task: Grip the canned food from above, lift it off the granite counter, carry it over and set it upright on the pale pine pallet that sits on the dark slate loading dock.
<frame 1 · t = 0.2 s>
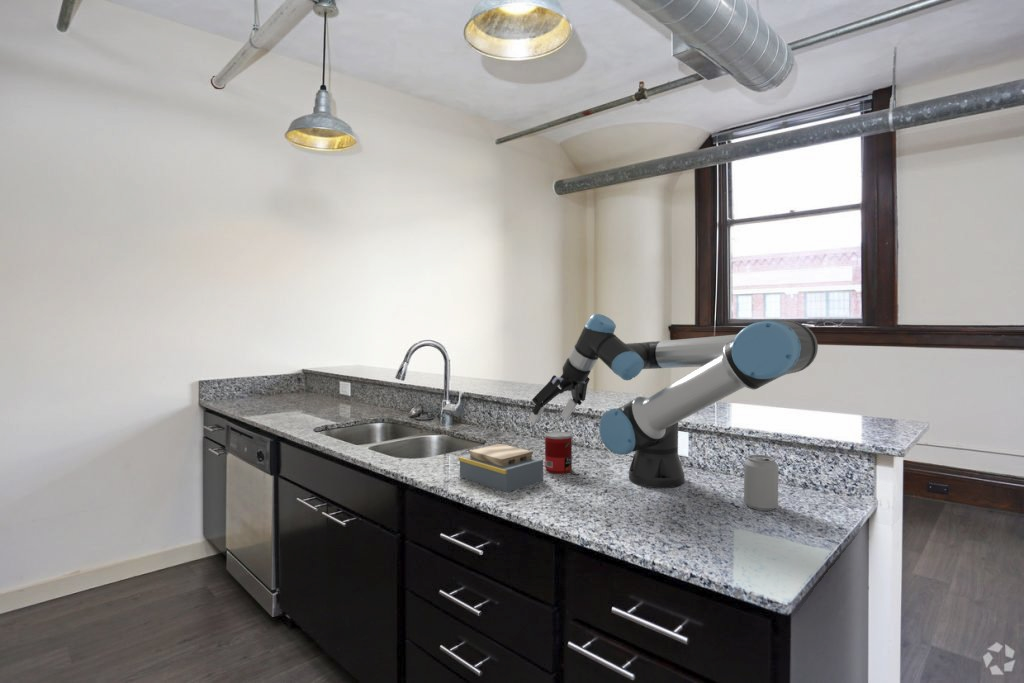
hand: (548, 419, 161), 15 cm above the worktop, tool tilted 35°, fingers open, 13 cm apart
can: (760, 507, 128), on the worktop
dock: (500, 478, 152), on the worktop
canned food: (558, 471, 160), on the worktop
pallet: (500, 458, 152), resting on dock
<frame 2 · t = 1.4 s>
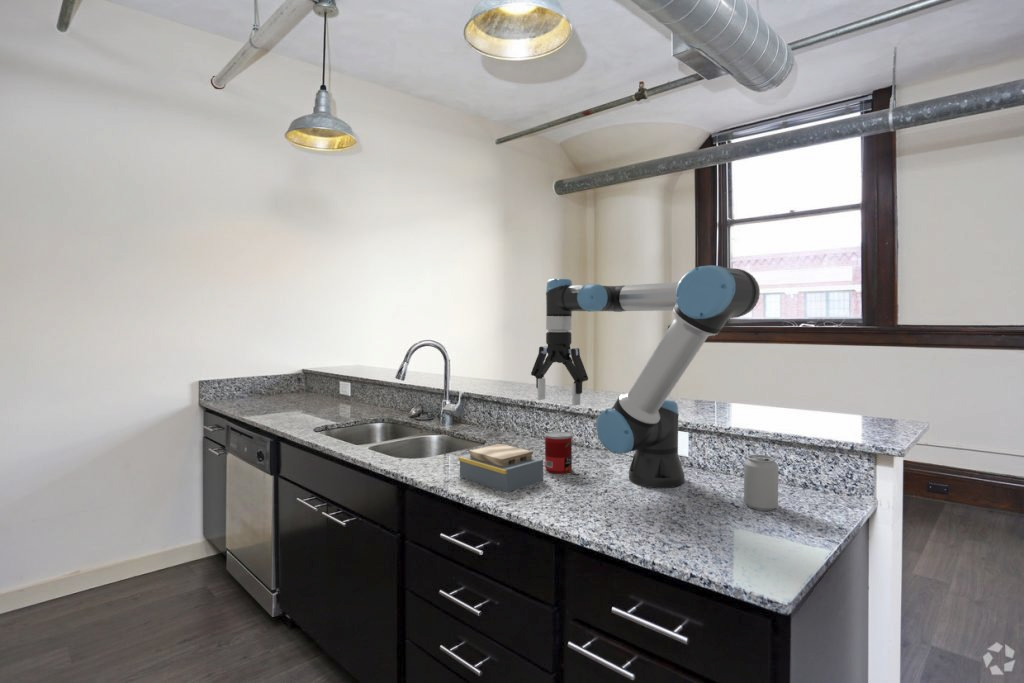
hand: (558, 402, 159), 21 cm above the worktop, tool pointing down, fingers open, 13 cm apart
nothing on the worktop moved.
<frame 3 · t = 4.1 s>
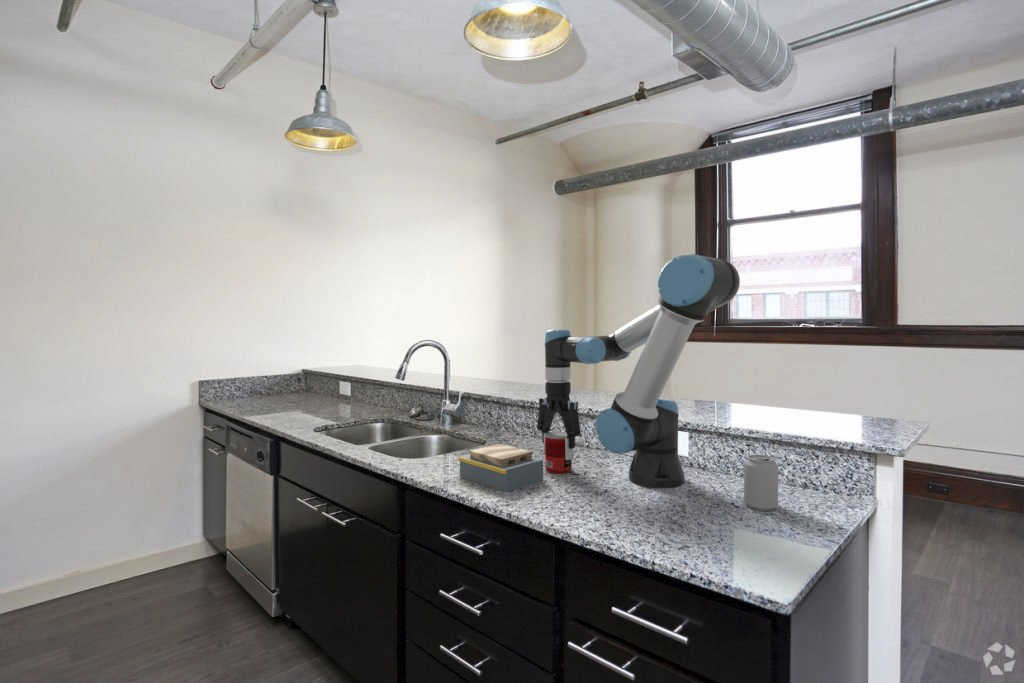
hand: (558, 456, 160), 4 cm above the worktop, tool pointing down, fingers closed on canned food, 8 cm apart
canned food: (558, 471, 160), on the worktop, touching gripper
everything else where it was.
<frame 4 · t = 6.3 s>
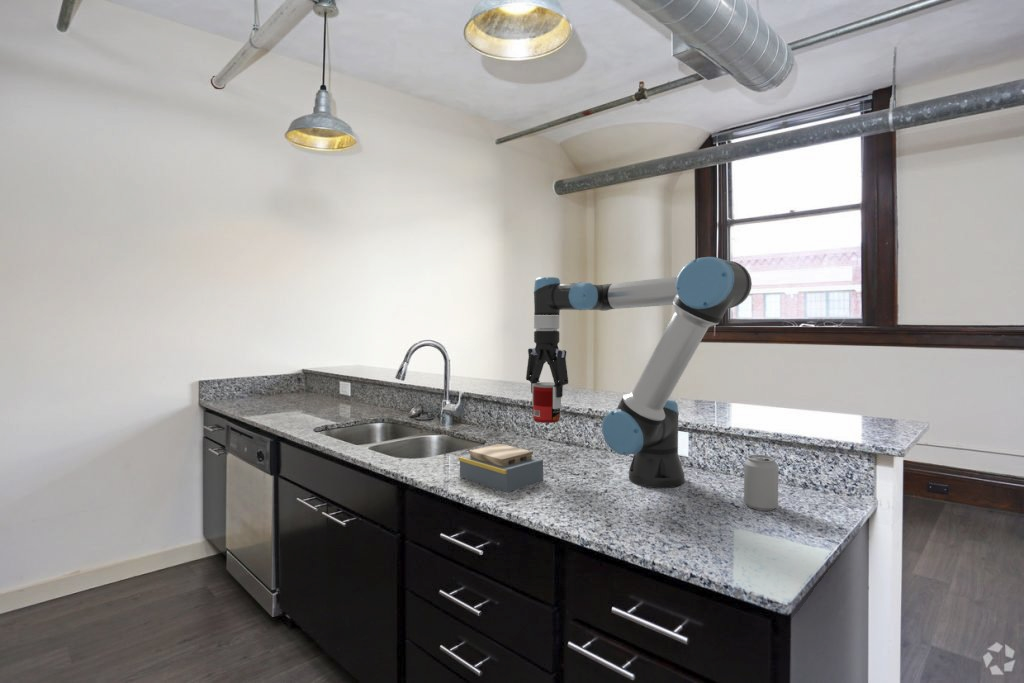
hand: (546, 406, 159), 20 cm above the worktop, tool pointing down, fingers closed on canned food, 8 cm apart
canned food: (546, 421, 159), point 15 cm above the worktop, touching gripper
everything else where it was.
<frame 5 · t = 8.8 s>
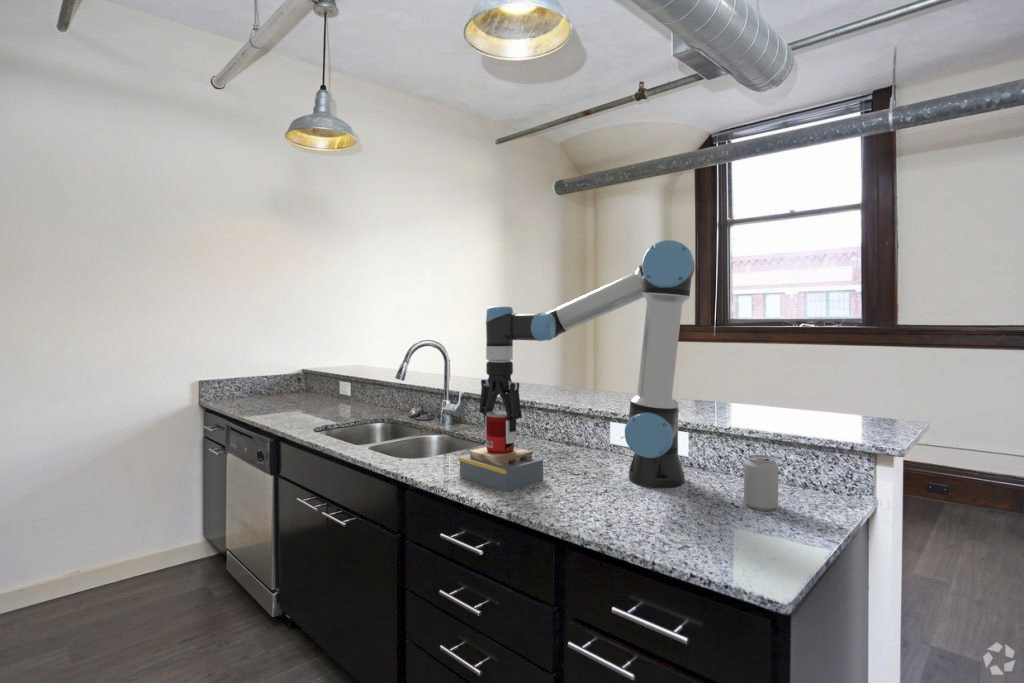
hand: (499, 440, 152), 11 cm above the worktop, tool pointing down, fingers closed on canned food, 8 cm apart
canned food: (500, 451, 152), point 8 cm above the worktop, touching gripper, pallet
everything else where it was.
when the fingers open (11 cm above the worktop, at t = 9.6 s): canned food stays where it is, resting on pallet.
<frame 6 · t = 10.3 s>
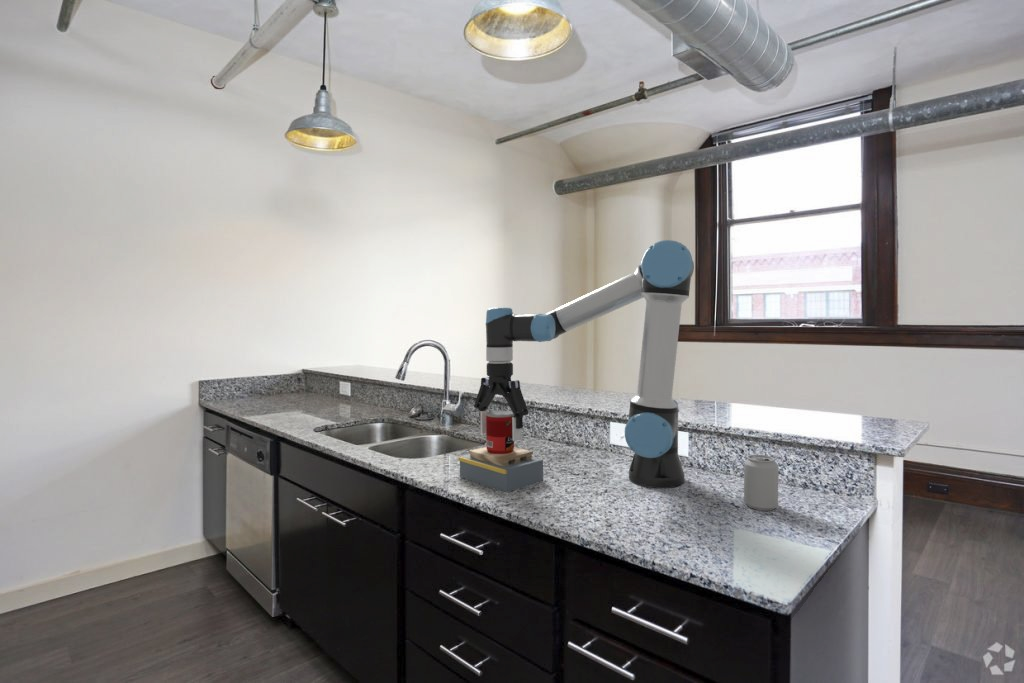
hand: (500, 436, 152), 12 cm above the worktop, tool pointing down, fingers open, 13 cm apart
canned food: (500, 451, 152), point 8 cm above the worktop, touching pallet
everything else where it was.
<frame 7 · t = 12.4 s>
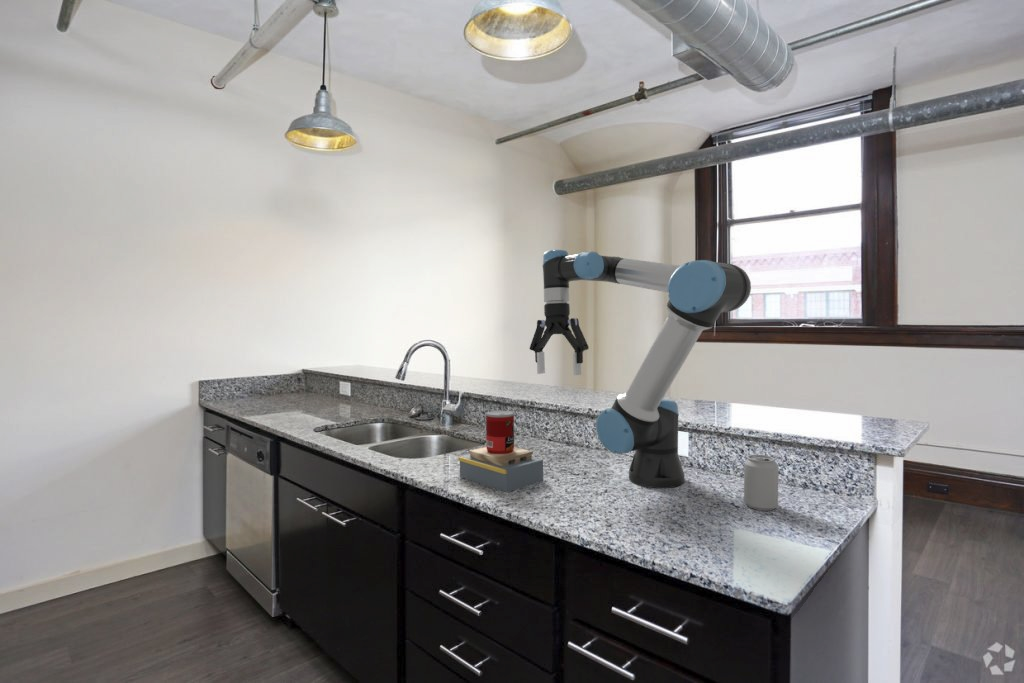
hand: (558, 374, 159), 29 cm above the worktop, tool pointing down, fingers open, 13 cm apart
nothing on the worktop moved.
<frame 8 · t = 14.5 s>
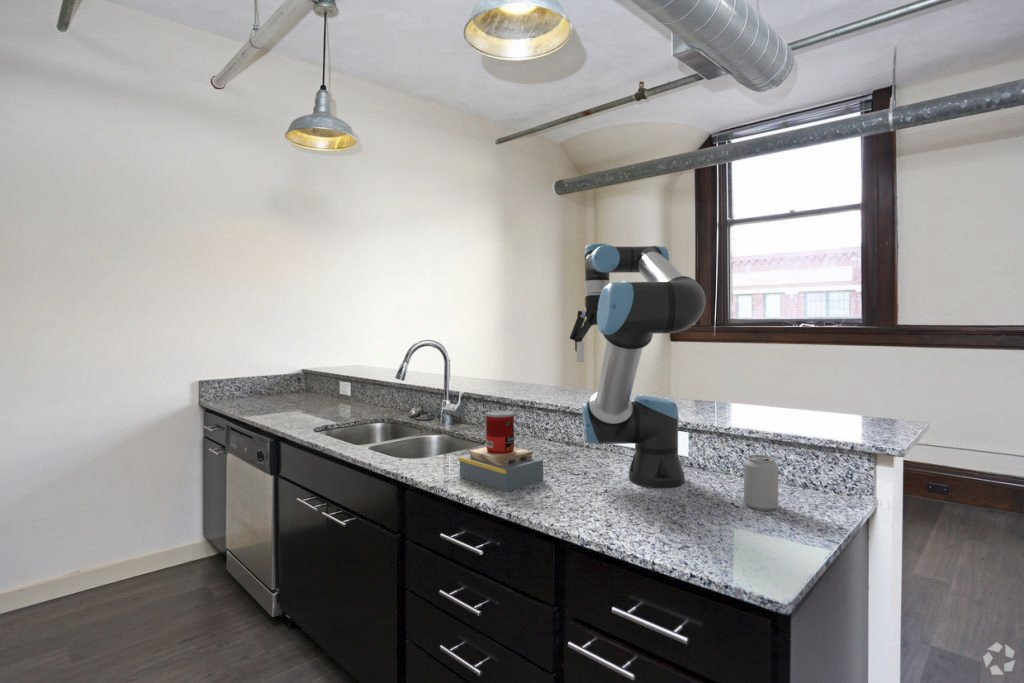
hand: (597, 363, 166), 32 cm above the worktop, tool pointing down, fingers open, 13 cm apart
nothing on the worktop moved.
at the end: canned food inside the target area on the pallet (0.1 cm from its centre), point 1.8 cm above the pallet's base; canned food tilted 0°; the gripper is holding nothing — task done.
